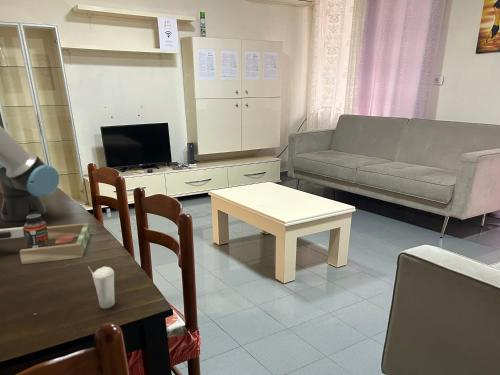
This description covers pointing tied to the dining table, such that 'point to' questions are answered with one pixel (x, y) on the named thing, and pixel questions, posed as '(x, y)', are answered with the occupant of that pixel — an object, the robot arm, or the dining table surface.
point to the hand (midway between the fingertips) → (24, 231)
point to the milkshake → (104, 286)
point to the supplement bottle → (36, 232)
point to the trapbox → (60, 251)
